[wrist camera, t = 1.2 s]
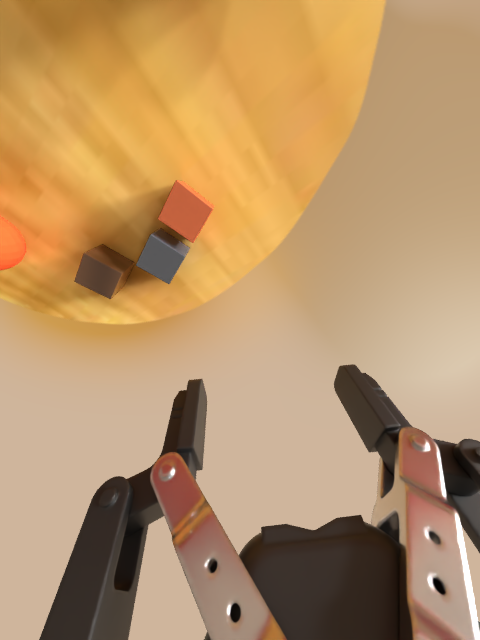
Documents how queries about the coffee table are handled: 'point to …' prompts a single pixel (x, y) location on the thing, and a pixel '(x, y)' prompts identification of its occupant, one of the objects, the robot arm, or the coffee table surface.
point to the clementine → (10, 245)
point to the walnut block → (103, 271)
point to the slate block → (162, 255)
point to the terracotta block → (185, 211)
